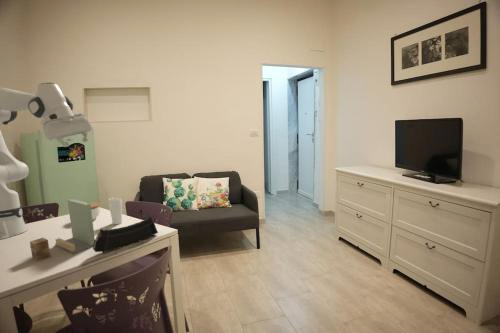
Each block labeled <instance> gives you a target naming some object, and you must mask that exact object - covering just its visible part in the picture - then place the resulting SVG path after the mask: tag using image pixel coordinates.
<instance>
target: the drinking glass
mask: <svg viewBox="0 0 500 333" xmlns="http://www.w3.org/2000/svg"><path fill="white" fill-rule="evenodd" d="M108 206H109V207H108V208H109V211H110V218H111V223H112V224H113V225H119V224H120V225H121V224H122V223H123V204H122V198H121V197H119V196H118V197H117V196H116V197H111V198H108Z"/></svg>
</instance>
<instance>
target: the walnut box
mask: <svg viewBox="0 0 500 333" xmlns="http://www.w3.org/2000/svg"><path fill="white" fill-rule="evenodd" d="M29 245H30V251H31V256H32V260H35V261H36V262H39V261H42V260H44V259H48V258H50V257H51V253H50V252H51V251H50V246H49V239H47V238H45V237H41V238H37V239H34V240H30V241H29Z"/></svg>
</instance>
